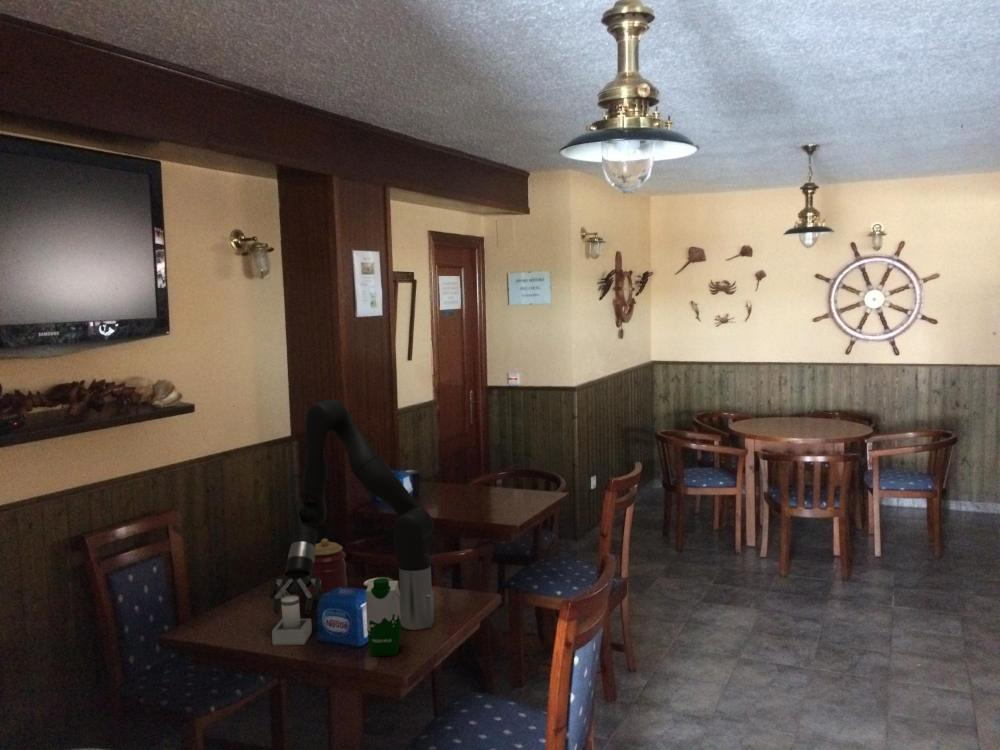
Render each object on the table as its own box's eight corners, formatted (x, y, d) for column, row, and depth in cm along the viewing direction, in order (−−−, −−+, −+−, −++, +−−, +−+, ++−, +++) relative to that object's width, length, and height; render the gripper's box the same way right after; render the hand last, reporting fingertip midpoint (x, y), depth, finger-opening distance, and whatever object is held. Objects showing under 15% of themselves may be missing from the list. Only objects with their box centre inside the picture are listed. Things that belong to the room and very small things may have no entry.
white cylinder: (303, 632, 236) (301, 595, 235) (298, 639, 231) (296, 601, 230) (286, 633, 236) (284, 595, 235) (281, 640, 231) (278, 602, 230)
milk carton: (366, 658, 219) (362, 584, 217) (371, 644, 228) (368, 573, 226) (399, 656, 219) (396, 582, 217) (403, 643, 228) (400, 571, 226)
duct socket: (311, 632, 238) (311, 618, 237) (303, 644, 229) (302, 630, 229) (282, 633, 238) (281, 619, 238) (272, 645, 229) (271, 630, 229)
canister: (319, 601, 263) (316, 546, 262) (300, 591, 273) (297, 539, 271) (355, 591, 272) (352, 538, 270) (335, 582, 281) (332, 531, 280)
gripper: (273, 555, 241) (262, 608, 231) (321, 554, 240) (313, 607, 230) (280, 567, 247) (270, 619, 236) (327, 566, 246) (319, 618, 236)
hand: (291, 613), depth 233 cm, fingers open, 8 cm apart
